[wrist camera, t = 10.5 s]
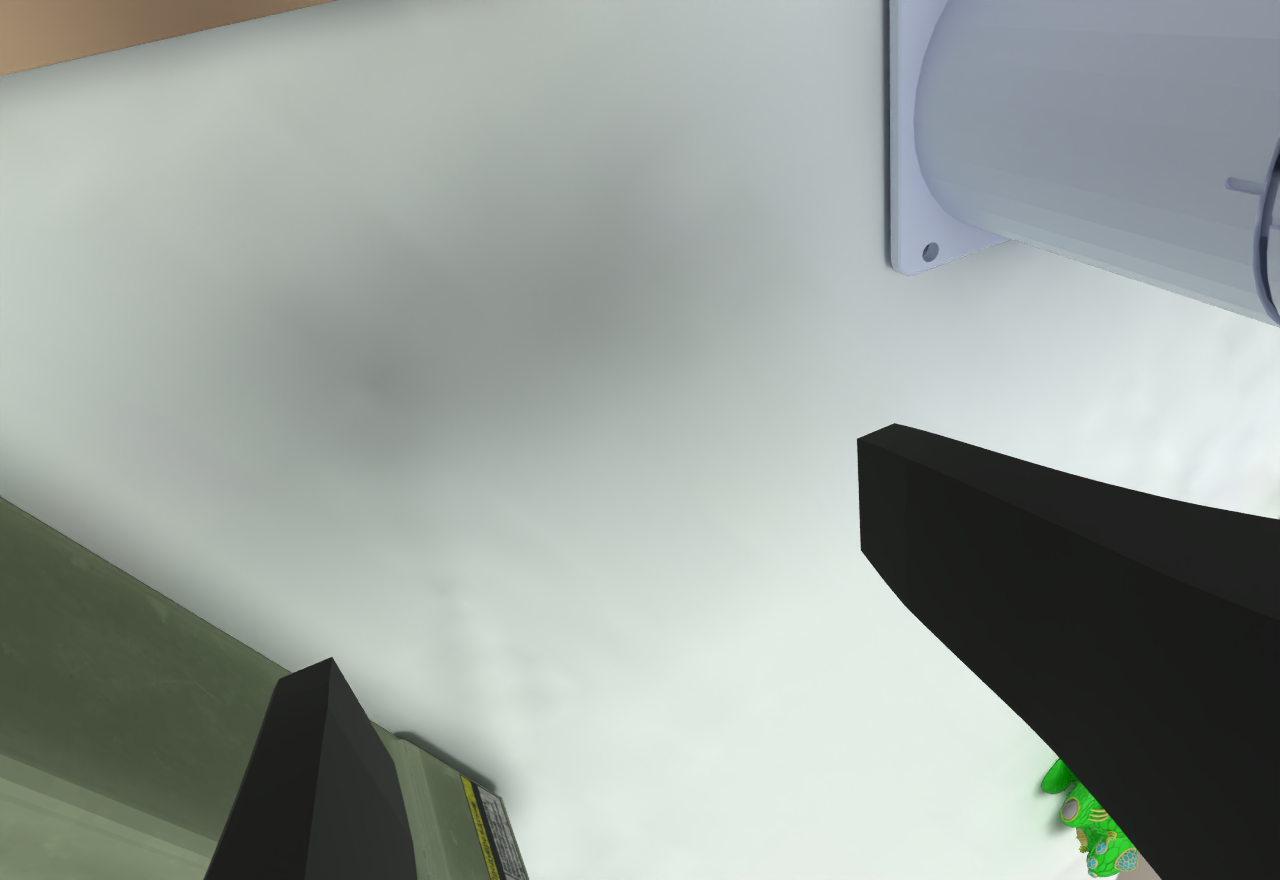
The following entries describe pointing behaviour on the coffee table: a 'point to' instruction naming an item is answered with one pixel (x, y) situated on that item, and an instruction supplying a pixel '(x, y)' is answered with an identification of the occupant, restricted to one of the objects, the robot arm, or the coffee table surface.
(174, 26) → the walnut hole plate
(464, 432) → the coffee table surface
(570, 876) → the coffee table surface
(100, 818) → the handheld radio
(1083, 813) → the crocodile figurine
